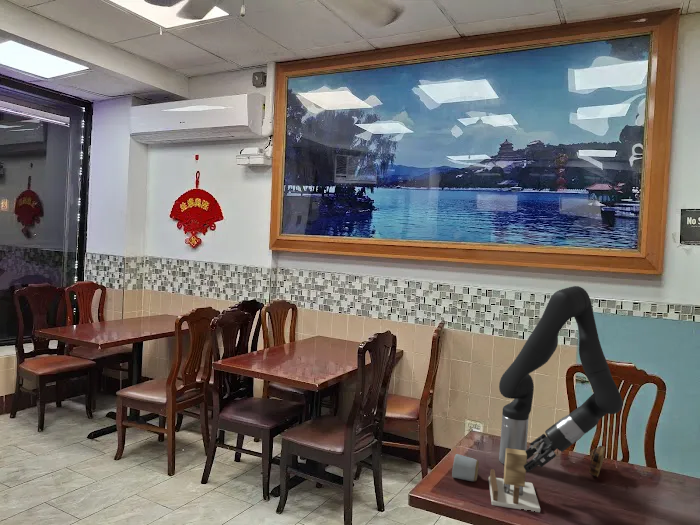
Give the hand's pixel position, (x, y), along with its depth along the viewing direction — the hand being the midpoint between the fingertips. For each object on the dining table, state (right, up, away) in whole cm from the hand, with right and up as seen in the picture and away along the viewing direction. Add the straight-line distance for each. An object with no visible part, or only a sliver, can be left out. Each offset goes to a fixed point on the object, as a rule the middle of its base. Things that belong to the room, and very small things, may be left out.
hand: (523, 463), depth 163 cm
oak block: (-3, -6, +1) cm, 7 cm away
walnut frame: (-6, -9, +2) cm, 11 cm away
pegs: (-3, -9, +1) cm, 10 cm away
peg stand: (-3, -11, +1) cm, 11 cm away
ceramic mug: (-16, -10, +12) cm, 22 cm away
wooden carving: (+33, -12, +21) cm, 40 cm away
